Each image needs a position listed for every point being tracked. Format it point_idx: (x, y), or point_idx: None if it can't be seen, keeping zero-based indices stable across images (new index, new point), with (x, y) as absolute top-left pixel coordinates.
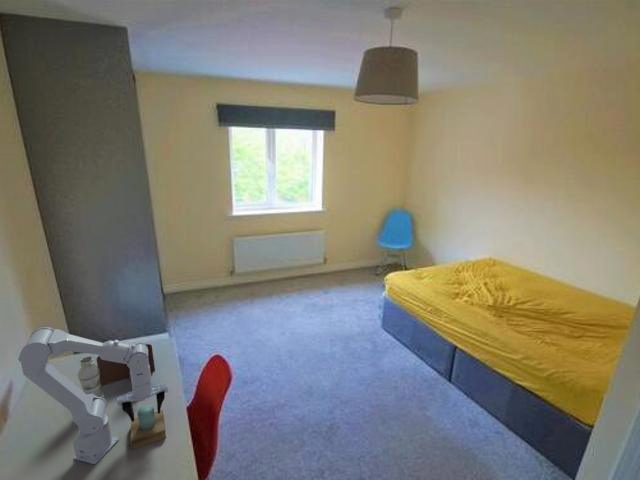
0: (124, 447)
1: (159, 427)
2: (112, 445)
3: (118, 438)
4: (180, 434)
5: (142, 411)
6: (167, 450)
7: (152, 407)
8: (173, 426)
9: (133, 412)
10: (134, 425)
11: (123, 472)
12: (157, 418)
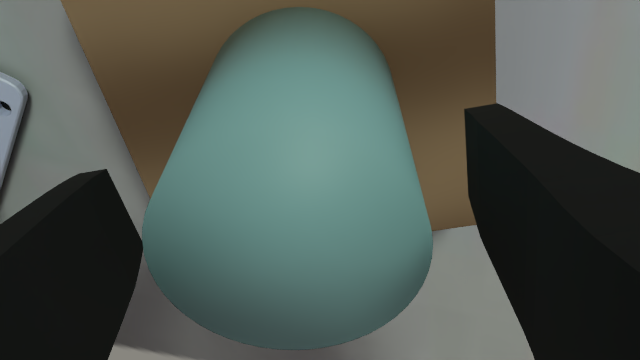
0: (127, 179)
1: (440, 175)
2: (6, 158)
3: (16, 90)
4: None
5: (236, 272)
6: (479, 281)
7: (409, 230)
8: (557, 49)
9: (66, 215)
10: (134, 70)
11: (209, 353)
12: (411, 21)
